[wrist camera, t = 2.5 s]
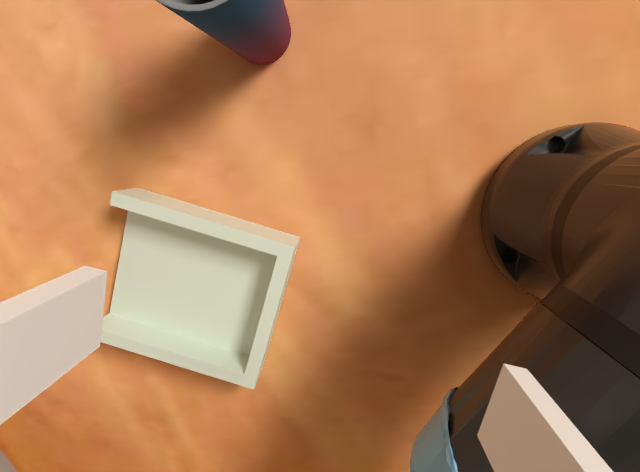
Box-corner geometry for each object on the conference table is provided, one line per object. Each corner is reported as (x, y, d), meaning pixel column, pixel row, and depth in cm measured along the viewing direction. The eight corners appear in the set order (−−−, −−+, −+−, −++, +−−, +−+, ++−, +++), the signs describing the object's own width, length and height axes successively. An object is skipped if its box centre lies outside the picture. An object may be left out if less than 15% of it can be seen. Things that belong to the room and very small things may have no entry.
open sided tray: (138, 187, 36) (112, 191, 32) (300, 237, 36) (294, 247, 32) (113, 319, 39) (87, 337, 35) (263, 366, 39) (253, 389, 35)
